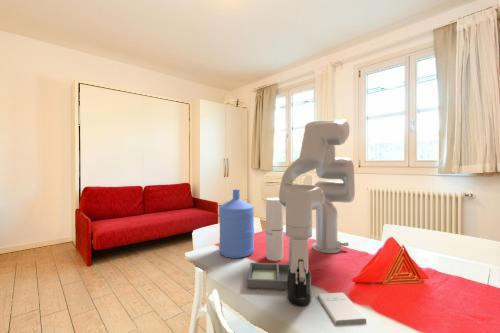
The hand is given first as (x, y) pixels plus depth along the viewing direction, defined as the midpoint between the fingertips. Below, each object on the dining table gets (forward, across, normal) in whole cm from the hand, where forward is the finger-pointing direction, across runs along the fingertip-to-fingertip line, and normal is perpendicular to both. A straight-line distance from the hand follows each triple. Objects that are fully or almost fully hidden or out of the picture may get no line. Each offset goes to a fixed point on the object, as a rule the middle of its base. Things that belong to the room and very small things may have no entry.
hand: (299, 289), depth 73 cm
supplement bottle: (+3, 0, 0) cm, 3 cm away
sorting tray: (+3, -12, -6) cm, 13 cm away
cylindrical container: (+3, -31, -7) cm, 32 cm away
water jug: (+3, -36, -24) cm, 43 cm away
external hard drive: (+4, +3, +11) cm, 12 cm away
